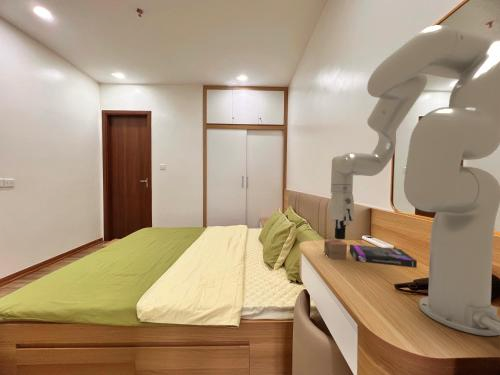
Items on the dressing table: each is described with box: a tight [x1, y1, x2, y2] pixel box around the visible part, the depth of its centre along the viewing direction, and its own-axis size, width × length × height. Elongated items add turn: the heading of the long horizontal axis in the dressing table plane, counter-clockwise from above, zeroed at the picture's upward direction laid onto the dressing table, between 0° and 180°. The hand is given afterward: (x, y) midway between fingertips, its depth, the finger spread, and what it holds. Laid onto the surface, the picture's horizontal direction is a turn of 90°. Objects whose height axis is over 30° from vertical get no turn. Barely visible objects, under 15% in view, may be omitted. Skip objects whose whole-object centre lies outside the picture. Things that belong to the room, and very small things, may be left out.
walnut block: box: [323, 239, 348, 260], centre depth 86 cm, size 6×6×6 cm
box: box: [349, 244, 418, 268], centre depth 86 cm, size 14×4×20 cm
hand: (339, 238), depth 83 cm, fingers closed
